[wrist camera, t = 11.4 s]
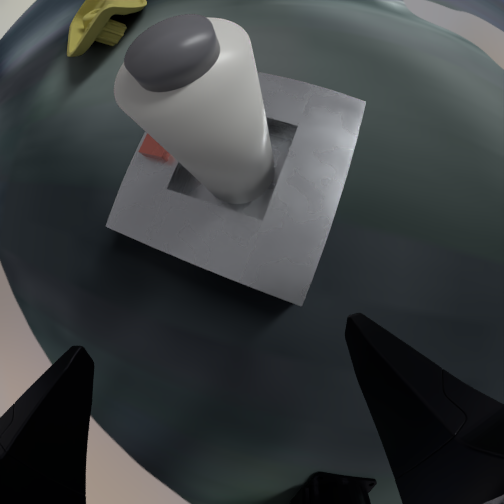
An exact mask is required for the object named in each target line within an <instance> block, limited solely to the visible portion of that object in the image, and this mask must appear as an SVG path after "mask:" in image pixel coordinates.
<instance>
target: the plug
mask: <svg viewBox="0 0 504 504" xmlns="http://www.w3.org/2000/svg"><path fill="white" fill-rule="evenodd" d="M114 96H115V100H116V102H117V104H118V106H119V107H120V108H121V109H122V110H123V111H124V112H125V113H126V114H127V115H128V116H129V117H130V118H131V119H133V120H134V121H135V122H136V123H137V124H138V125H139V126H140V127H141V128H142V129H144V130H145V131H146V132H147V133H148V134H149V135H150V136H151V137H152V138H153V139H154V140H155V141H157V142H158V143H159V144H160V145H161V146H162V147H163V148H164V149H165V150H166V151H167V152H168V153H169V154H171V155H172V156H173V157H174V158H175V159H176V160H177V161H178V162H179V163H180V164H181V165H182V166H183V167H184V168H186V169H187V170H188V171H189V172H190V173H191V174H192V175H193V176H194V177H195V178H196V179H197V180H198V181H199V182H200V183H201V184H203V185H204V186H205V187H206V188H207V189H208V190H209V191H210V192H211V193H212V194H213V195H214V196H215V197H217V198H218V199H220V200H221V201H224V202H227V203H231V204H244V203H248V202H251V201H253V200H255V199H257V198H258V197H260V196H261V195H262V194H264V193H265V192H266V190H267V189H268V188H269V186H270V185H271V183H272V181H273V178H274V173H275V165H274V159H273V153H272V147H271V141H270V136H269V130H268V125H267V120H266V114H265V109H264V104H263V99H262V94H261V89H260V84H259V79H258V74H257V69H256V64H255V60H254V55H253V50H252V46H251V41H250V39H249V36H248V34H247V33H246V31H245V30H244V29H243V28H242V27H240V26H239V25H237V24H236V23H233V22H231V21H228V20H225V19H220V18H206V17H204V16H201V15H195V14H185V15H179V16H174V17H171V18H168V19H165V20H163V21H161V22H159V23H157V24H155V25H153V26H151V27H150V28H148V29H147V30H145V31H144V32H143V33H142V34H140V35H139V36H138V37H137V38H136V39H135V40H134V42H133V43H132V44H131V45H130V47H129V48H128V50H127V52H126V55H125V58H124V63H123V64H122V66H121V68H120V70H119V71H118V74H117V76H116V80H115V84H114Z"/></svg>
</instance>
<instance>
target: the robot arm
mask: <svg viewBox="0 0 504 504" xmlns="http://www.w3.org/2000/svg"><path fill="white" fill-rule="evenodd" d="M345 339H346V342H347V346H348V349H349V353H350V356H351V360H352V363H353V367H354V370H355V374H356V377H357V380H358V383H359V385H360V388H361V390H362V393H363V395H364V398H365V400H366V403H367V405H368V408H369V410H370V413H371V415H372V418H373V420H374V423H375V426H376V428H377V431H378V433H379V436H380V439H381V441H382V444H383V447H384V450H385V452H386V455H387V458H388V461H389V464H390V466H391V469H392V472H393V475H394V478H395V481H396V484H397V487H398V491H399V494H400V497H401V500H402V503H403V504H504V404H502V403H500V402H498V401H496V400H494V399H492V398H491V397H489V396H487V395H485V394H483V393H481V392H479V391H478V390H476V389H474V388H472V387H470V386H469V385H467V384H465V383H464V382H462V381H460V380H459V379H457V378H456V377H454V376H453V375H451V374H450V373H448V372H447V371H446V370H444V369H443V370H442V368H441V367H440V366H438V365H437V364H435V363H434V362H432V361H431V360H429V359H428V358H427V357H425V356H424V355H422V354H421V353H419V352H418V351H416V350H415V349H413V348H412V347H411V346H409V345H408V344H406V343H405V342H403V341H402V340H400V339H399V338H397V337H396V336H394V335H393V334H391V333H390V332H389V331H387V330H386V329H384V328H383V327H381V326H380V325H378V324H377V323H375V322H374V321H372V320H371V319H369V318H368V317H366V316H365V315H363V314H362V313H356V314H352V315H349V316H348V318H347V324H346V330H345ZM93 377H94V362H93V360H92V358H91V357H90V356H89V354H88V353H87V351H86V350H85V348H84V347H82V346H72V347H71V348H70V349H69V350H68V351H67V352H65V353H64V354H63V355H62V356H61V357H60V358H59V359H58V360H57V361H56V362H55V363H54V364H53V365H52V366H51V367H50V368H49V369H48V370H47V371H46V372H45V373H44V374H43V375H42V376H41V377H40V378H39V379H38V380H37V381H36V382H35V383H34V384H33V385H32V386H31V387H30V388H29V389H28V390H27V391H26V392H25V393H24V394H23V395H22V396H21V397H20V398H19V399H18V400H17V401H16V402H15V404H13V405H12V406H11V407H10V408H9V409H8V410H7V412H5V413H4V415H3V416H2V417H0V504H86V496H85V494H86V492H85V491H86V490H85V489H86V454H87V440H88V431H89V421H90V413H91V405H92V392H93ZM320 476H322V477H320ZM376 484H377V482H376V480H375V479H370V478H360V477H351V476H343V475H337V474H330V473H325V472H318V473H316V474H315V475H314V476H313V478H312V479H311V480H310V481H309V482H308V484H307V485H306V486H305V487H303V488H301V490H300V491H299V492H298V493H297V494H296V495H295V497H294V498H293V499H292V500H291V503H290V504H371V503H370V499H369V496H368V493H369V492H370V491H371V490H372V488H373V487H374V486H375V485H376Z"/></svg>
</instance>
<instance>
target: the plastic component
mask: <svg viewBox="0 0 504 504" xmlns="http://www.w3.org/2000/svg"><path fill="white" fill-rule="evenodd" d="M146 4H147V1H146V0H86V1H85V2H84V3H83V5H82V6H81V8H80V9H79V11H78V12H77V14H76V15H75V17H74V19H73V21H72V23H71V25H70V29H69V37H68V46H67V56H68V57H75V56H80V55H82V54H84V53H85V52H86V51H87V50H88V49H89V47H90V46H91V45H92V43H93V42H94V41H97V42H100V43H104V44H107V45H110V46H114V45H115V44H117V43H118V41H119V40H120V39H121V37H122V36H123V35H124V32H125V30H126V29H127V27H125V26H126V25H125V24H122V23H120V22H117V21H114V20H112V19H110V17H111V16H112V15H114V14H119V15H127V14H130V13H135V12H138V11H140V10H142V9H143V8H144V7H145V6H146Z"/></svg>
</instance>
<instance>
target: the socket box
mask: <svg viewBox="0 0 504 504" xmlns="http://www.w3.org/2000/svg"><path fill="white" fill-rule="evenodd" d="M257 74H258V79H259V84H260V89H261V94H262V99H263V104H264V109H265V114H266V120H267V125H268V130H269V136H270V141H271V147H272V153H273V159H274V165H275V173H274V178H273V181H272V183H271V185H270V186H269V188H268V189H267V190H266V192H265V193H264V194H262V195H261V196H260V197H258V198H257V199H255V200H253V201H251V202H248V203H244V204H231V203H227V202H224V201H221V200H220V199H218V198H217V197H215V196H214V195H213V194H212V193H211V192H210V191H209V190H208V189H207V188H206V187H205V186H204V185H203V184H201V183H200V182H199V181H198V180H197V179H196V178H195V177H194V176H193V175H192V174H191V173H190V172H189V171H188V170H187V169H186V168H184V167H183V166H182V165H181V164H180V163H179V162H178V161H177V160H176V159H175V158H174V157H173V156H172V155H171V154H169V153H168V152H167V151H166V150H165V149H164V148H163V147H162V146H161V145H160V144H159V143H158V142H157V141H155V140H154V139H153V138H152V137H151V136H150V135H149V134H148V133H147V132H146V131H145V133H144V135H143V137H142V139H141V141H140V143H139V145H138V148H137V150H136V152H135V154H134V156H133V158H132V161H131V163H130V165H129V167H128V170H127V172H126V174H125V177H124V179H123V181H122V184H121V186H120V189H119V191H118V194H117V197H116V199H115V202H114V205H113V207H112V210H111V213H110V216H109V218H108V221H107V224H106V227H108V228H110V229H112V230H115V231H117V232H119V233H121V234H124V235H126V236H128V237H130V238H133V239H135V240H137V241H139V242H142V243H144V244H146V245H149V246H151V247H153V248H156V249H158V250H160V251H163V252H165V253H167V254H170V255H172V256H175V257H177V258H179V259H182V260H184V261H187V262H189V263H191V264H194V265H196V266H199V267H201V268H204V269H206V270H209V271H211V272H213V273H216V274H218V275H221V276H223V277H226V278H228V279H231V280H234V281H236V282H239V283H241V284H244V285H246V286H249V287H251V288H254V289H257V290H259V291H262V292H264V293H267V294H270V295H272V296H275V297H278V298H280V299H283V300H286V301H288V302H291V303H294V304H296V305H299V306H302V305H303V302H304V300H305V297H306V294H307V292H308V289H309V287H310V284H311V281H312V279H313V276H314V273H315V270H316V268H317V265H318V262H319V259H320V257H321V254H322V251H323V248H324V245H325V242H326V239H327V236H328V234H329V231H330V228H331V225H332V222H333V218H334V215H335V212H336V209H337V206H338V203H339V200H340V196H341V193H342V190H343V187H344V183H345V180H346V176H347V173H348V170H349V166H350V163H351V159H352V155H353V152H354V148H355V144H356V140H357V137H358V133H359V129H360V125H361V121H362V117H363V113H364V108H365V104H366V102H365V101H362V100H359V99H357V98H354V97H351V96H348V95H345V94H342V93H339V92H336V91H333V90H330V89H327V88H323V87H320V86H316V85H313V84H309V83H305V82H301V81H297V80H293V79H289V78H285V77H280V76H276V75H271V74H266V73H260V72H257Z"/></svg>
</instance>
